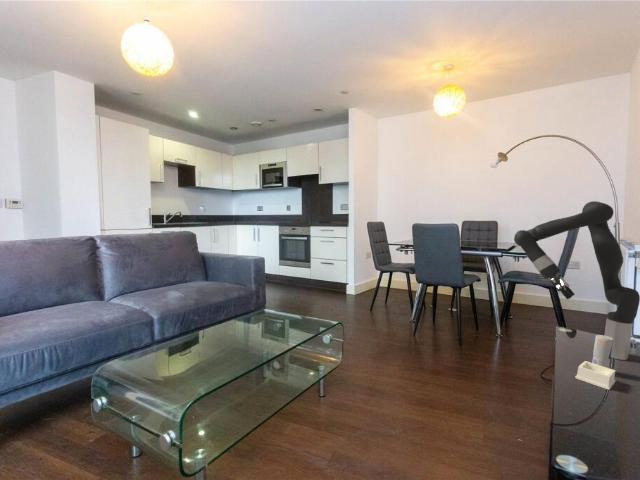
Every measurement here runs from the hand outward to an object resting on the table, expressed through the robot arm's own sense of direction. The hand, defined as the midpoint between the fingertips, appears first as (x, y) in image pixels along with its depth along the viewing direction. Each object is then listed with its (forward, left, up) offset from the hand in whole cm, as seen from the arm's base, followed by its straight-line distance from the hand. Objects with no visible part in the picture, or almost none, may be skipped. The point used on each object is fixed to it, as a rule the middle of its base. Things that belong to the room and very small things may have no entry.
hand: (571, 297), depth 151 cm
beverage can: (+3, +14, -28) cm, 32 cm away
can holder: (+15, +15, -28) cm, 35 cm away
